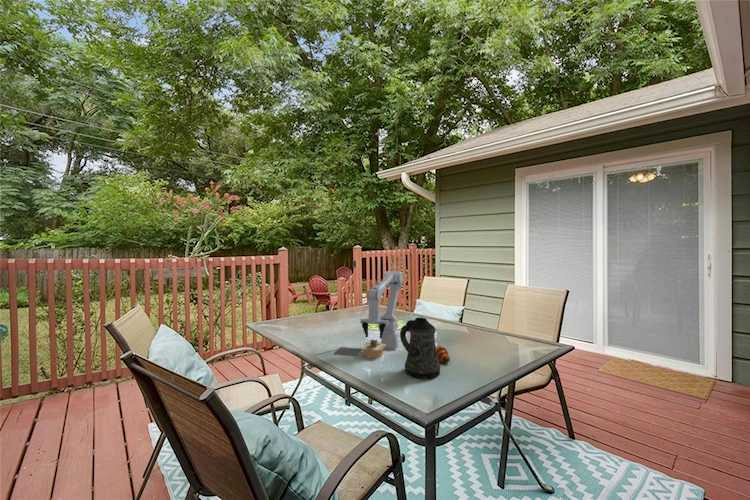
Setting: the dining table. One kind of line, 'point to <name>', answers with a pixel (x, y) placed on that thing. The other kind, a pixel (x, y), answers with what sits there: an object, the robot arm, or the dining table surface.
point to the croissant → (442, 354)
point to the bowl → (373, 354)
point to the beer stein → (420, 349)
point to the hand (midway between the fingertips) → (373, 337)
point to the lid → (373, 346)
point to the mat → (347, 351)
